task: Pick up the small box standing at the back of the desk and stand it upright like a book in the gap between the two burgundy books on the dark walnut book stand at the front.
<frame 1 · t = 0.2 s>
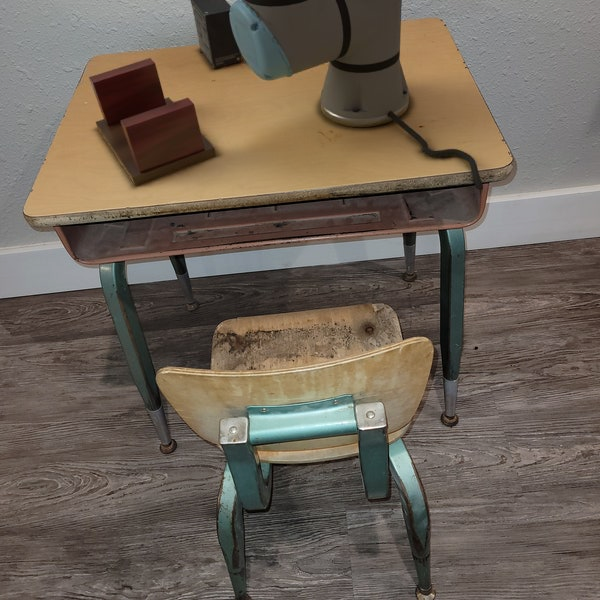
book stand: (154, 141, 102), on the table
small box: (221, 56, 123), on the table
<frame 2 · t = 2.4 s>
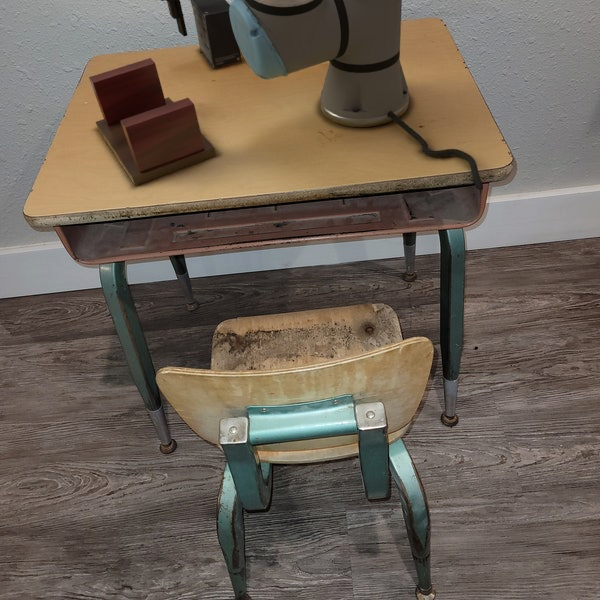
hand: (214, 24, 119), 6 cm above the table, tool pointing down, fingers open, 13 cm apart
nothing on the table moved.
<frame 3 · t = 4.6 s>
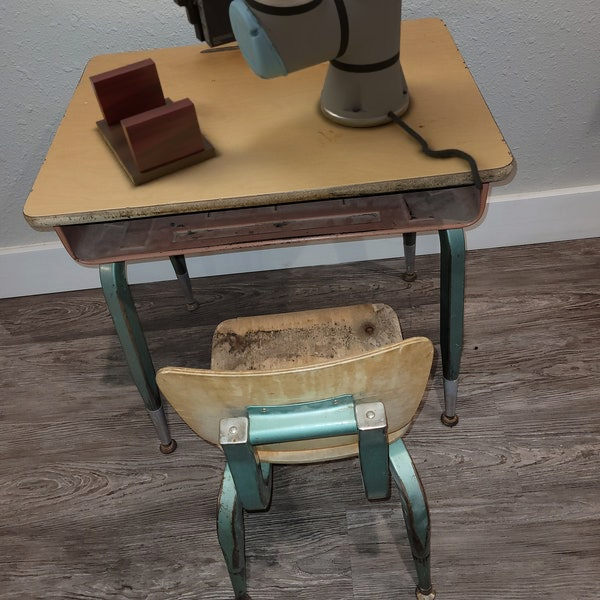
hand: (217, 33, 119), 5 cm above the table, tool pointing down, fingers closed on small box, 7 cm apart
small box: (218, 37, 120), point 4 cm above the table, touching gripper
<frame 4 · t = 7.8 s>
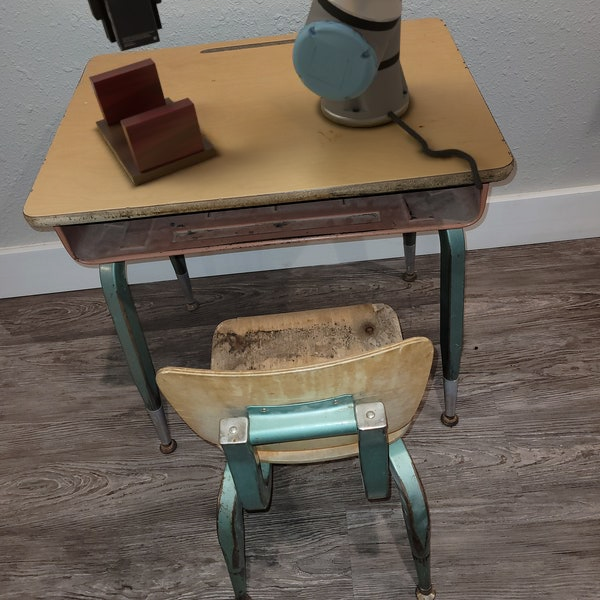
hand: (134, 32, 92), 17 cm above the table, tool pointing down, fingers closed on small box, 7 cm apart
small box: (136, 36, 92), point 16 cm above the table, touching gripper
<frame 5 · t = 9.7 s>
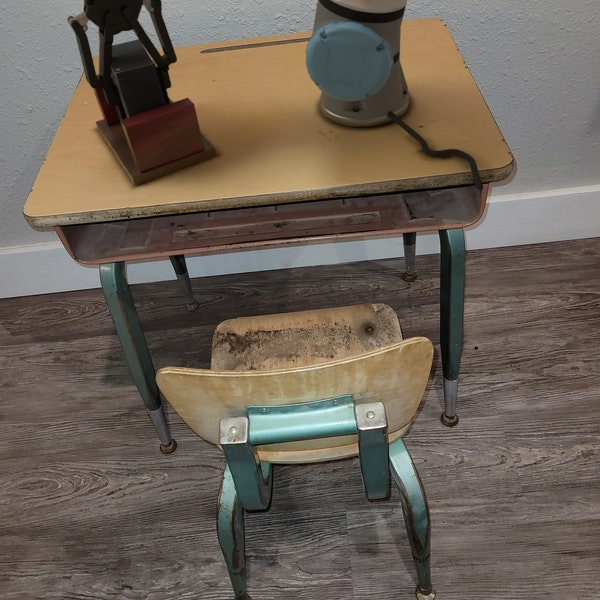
hand: (145, 114, 98), 5 cm above the table, tool pointing down, fingers closed on small box, 7 cm apart
small box: (147, 117, 99), point 5 cm above the table, touching gripper
when the fingers open (2 cm above the table, at t = 11.0 s): small box stays where it is, resting on book stand.
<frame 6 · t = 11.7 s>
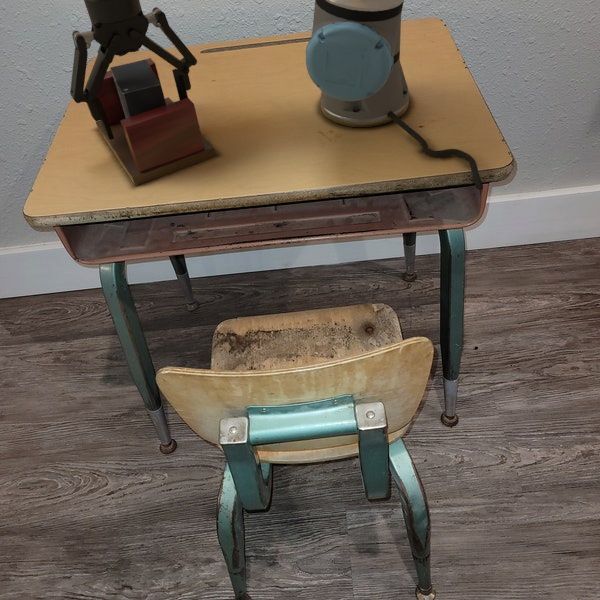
hand: (148, 122, 99), 4 cm above the table, tool pointing down, fingers open, 13 cm apart
small box: (152, 135, 101), point 1 cm above the table, touching book stand
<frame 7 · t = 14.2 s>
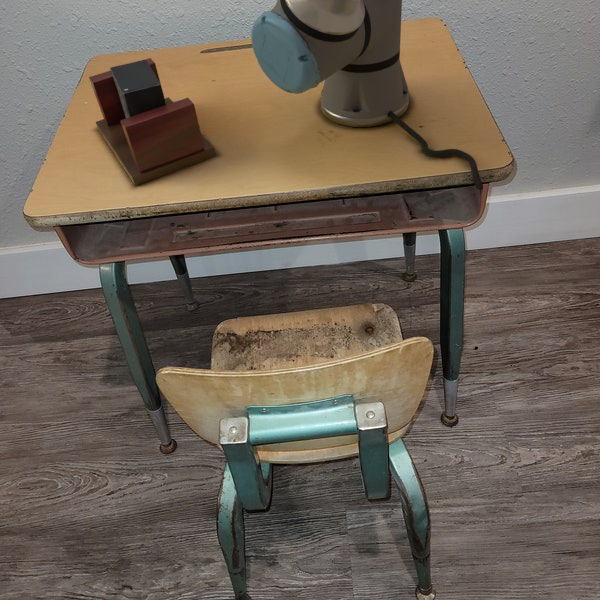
nothing on the table moved.
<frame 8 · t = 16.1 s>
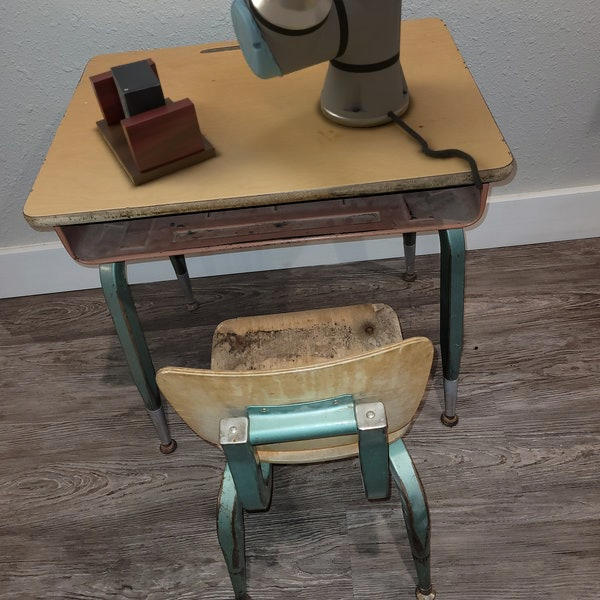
nothing on the table moved.
at the end: small box 0.0 cm off-centre on the book stand, point 1.3 cm above the book stand's base; small box tilted 0°; the gripper is holding nothing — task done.
